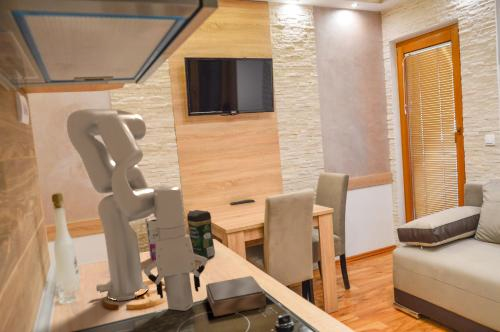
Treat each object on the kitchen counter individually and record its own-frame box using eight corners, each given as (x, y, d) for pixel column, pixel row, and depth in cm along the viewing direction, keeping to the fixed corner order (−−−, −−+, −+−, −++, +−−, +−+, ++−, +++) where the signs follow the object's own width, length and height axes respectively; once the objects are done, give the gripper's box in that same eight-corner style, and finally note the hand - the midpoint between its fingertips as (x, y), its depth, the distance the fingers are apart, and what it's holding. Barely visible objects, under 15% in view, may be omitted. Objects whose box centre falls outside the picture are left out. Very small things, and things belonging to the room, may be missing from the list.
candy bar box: (176, 252, 167) (171, 214, 166) (179, 255, 163) (174, 215, 162) (149, 258, 163) (144, 218, 162) (151, 261, 158) (146, 220, 157)
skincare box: (194, 305, 111) (189, 262, 110) (184, 312, 107) (179, 268, 106) (176, 303, 113) (171, 261, 113) (166, 309, 109) (161, 266, 109)
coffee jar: (188, 257, 158) (183, 211, 157) (204, 252, 164) (199, 207, 162) (202, 261, 151) (196, 213, 150) (218, 255, 156) (213, 209, 155)
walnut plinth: (214, 316, 102) (212, 301, 102) (207, 296, 116) (205, 283, 116) (266, 306, 105) (264, 291, 105) (253, 288, 119) (252, 275, 119)
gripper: (138, 240, 103) (147, 304, 104) (205, 230, 107) (212, 292, 108) (139, 234, 110) (147, 294, 111) (201, 225, 114) (208, 283, 115)
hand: (179, 293), depth 110 cm, fingers open, 9 cm apart
